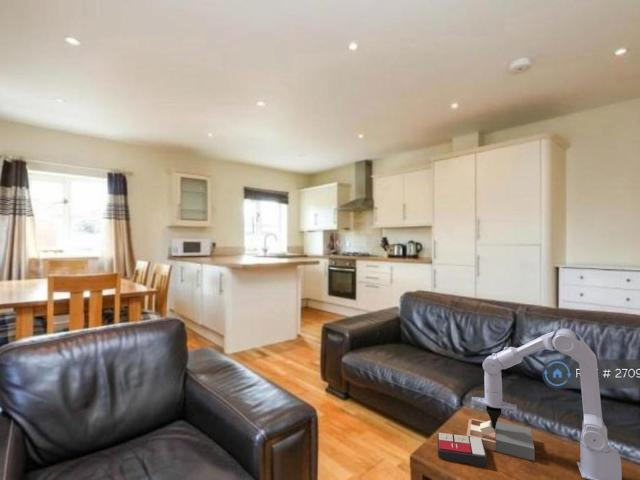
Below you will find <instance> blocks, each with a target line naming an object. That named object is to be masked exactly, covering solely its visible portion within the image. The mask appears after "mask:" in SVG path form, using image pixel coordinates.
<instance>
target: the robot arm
mask: <svg viewBox="0 0 640 480" xmlns="http://www.w3.org/2000/svg"><path fill="white" fill-rule="evenodd" d="M542 350H549V351H552V352H554V351H555V350H556V351H558V352H559V353H561V354H563V355H565V356H568V357H571V358H572V359H573V360H574V361H575V362H577V363H578V366H579V375H580V376H579V378H580V389H581V399H582V400H581V401H582V411H583V420H582V422H581V427H582V431H581V433H580V434H581V435H580V439H579V445H580V447H579V449H580V451H579V452H580V454H579V455H580V456H579V457H580V459H579V460H580V461H576V464H577V467H578V470H579V473H580V475H581V477H582V478H583V479H586V480H622V479H623V478H622V477H623V475H622V474H623V473H622V472H623V471H622V459H621V456H620V453H619V451H618V450H617V449H616V448H612V447H610V445H609V440H608V428H607V426H606V424H605V422H604V421H603V413H602V402H601V401H602V400H601V393H600V391H601V390H600V382H599V380H600V379H599V371H598V370H599V369H598V360H597V359H598V358H597V355H596V354H595V352H594V351H593V350H592V349H591V348H590V346H589V345H588V344H587V343H586V342H585V341H584V339H583V337H581V335H580V334H578V333H576V331H573V330H572V329H570V328H566V327H564V328H559V329H557V330H556V331H554V330H553V331H551V332H548V333H546V334H543V335H540V336H539V337H536V338H535V339H533V340H531V341H529V342H527V343H525V344H524V345H520V346H519V347H514V346H509V347H508V346H504V348H503V350H501V351H498V352H493V353H491V355H488V356H487V357H486V358H485V359H484V360H483V361H482V369H483V371H484V376H483V377H484V380H483V381H484V397H475V396H472V397H471V405H474V406H475V405H478V406H484V407H485V408H486V412H487V414H488V417H489V419H490V420H491V422H492V426H493V428H494V429H495V430H496V423H497V421H498V420H499V418H500V416H501V415H502V410H505V411H510V412H513V413H516V414H517V411H518V409H517V408H518V407H517V404H513V403H509V402H507V401H503V378H502V370H506V369H508V368H511V367H514V366H515V365H517V364H520V363H522V361H523V358H524V357H526V356H529V355H532V354H534V353H537V352H539V351H542Z"/></svg>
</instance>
